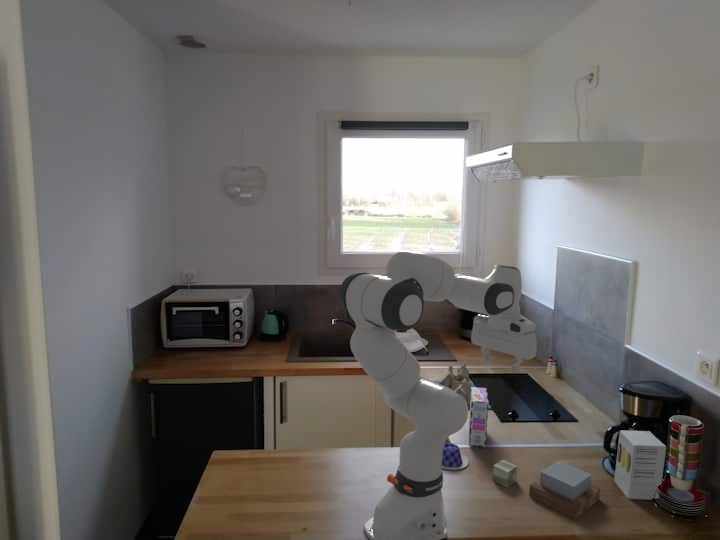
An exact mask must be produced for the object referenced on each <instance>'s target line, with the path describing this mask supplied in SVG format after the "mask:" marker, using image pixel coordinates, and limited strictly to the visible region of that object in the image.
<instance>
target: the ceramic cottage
mask: <svg viewBox="0 0 720 540" xmlns="http://www.w3.org/2000/svg"><path fill="white" fill-rule="evenodd" d="M453 367H454V366H453V364H448V370H447V372H446V374H445V375H443V376H442V377H441V378H440V379H439V382H438V384H440V385H443V386H445V387H448V388H450V389H452V390H453V391H455V392H456V393H458V394H459V395H460V396H462V397H463V398H464V399H465V400H466V402H467V404H468V403H470V396H471V387H472V386H471V382H470V368H467V362H463V364H461V366H460V367H457V374H454V373H453V371H454V369H453Z"/></svg>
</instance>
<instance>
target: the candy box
mask: <svg viewBox="0 0 720 540" xmlns="http://www.w3.org/2000/svg"><path fill="white" fill-rule="evenodd" d="M470 387H471V396H470V404H469V420H468V421H469V423H468V446H471V447H479V448H480V447H481V448H486V446H487V430H488V429H487V428H488V418H489V417H488V415H489V413H488V412H489V397H488V391H487V390H488V389H487V388H486V387H478V386H470Z"/></svg>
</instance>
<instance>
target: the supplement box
mask: <svg viewBox="0 0 720 540" xmlns="http://www.w3.org/2000/svg"><path fill="white" fill-rule="evenodd" d="M617 443H618V445H617V455H616V461H615V462H616V463H615V471H614V480H613V481H614V482H615V484H616V486H618V488H619V489H620V490H621V492H622V493H623V494H624V496H625V497H626V498H627V499H628V500H648V501H649V500H651V501H652V499H653V498H654V494H655V491H656V488H657V487H658V486H659V485H661V484H662V485H663V476H664V467H665V460H666V459H665V458H666V452H667V451H666V450H667V446H666V445H665V444H664V443H663V442H662V441H661V440H660V439H659V438H658V437H656V436H655V435H654V434H653V433H652V432H651V431H650V430H647V431H646V430H625V429H624V430H619V434H618V442H617ZM662 485H661V486H662Z"/></svg>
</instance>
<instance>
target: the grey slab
mask: <svg viewBox="0 0 720 540" xmlns="http://www.w3.org/2000/svg"><path fill="white" fill-rule="evenodd" d="M539 478H540V485H542V486H544V487H546V488H548V489H550V490H552V491H554V492H556V493H558V494H560V495H562V496H565V497H567V498H569V499H571V500H574V499H576V498H577V497H578V496H580V495H581V494H582V493H584V492H585V491H586V490H588V489H589V488H590V486H591V485H592V483H591V482H592V474H591V473H589V472H586V471H585V470H581V469H579V468H577V467H575V466H572V465H570V464H568V463H565V462H563V461H562V460H561V461H560V460H558V461H555V462H554V463H552V464H551V465H548V467H546V468H544V469H543V470H541V471H540V475H539Z"/></svg>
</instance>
